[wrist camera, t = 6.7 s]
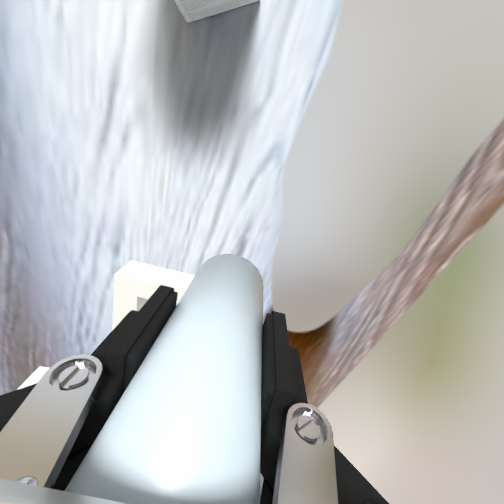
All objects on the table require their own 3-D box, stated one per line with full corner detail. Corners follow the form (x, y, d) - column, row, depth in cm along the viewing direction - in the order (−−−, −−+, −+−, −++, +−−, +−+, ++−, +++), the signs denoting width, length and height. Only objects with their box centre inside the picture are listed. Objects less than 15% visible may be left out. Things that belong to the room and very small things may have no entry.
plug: (273, 303, 15) (299, 781, 3) (213, 323, 15) (69, 770, 4) (247, 244, 13) (151, 686, 2) (182, 268, 14) (-139, 693, 3)
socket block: (191, 384, 40) (183, 410, 36) (124, 370, 40) (109, 394, 36) (212, 279, 33) (205, 296, 29) (131, 260, 33) (112, 275, 29)
